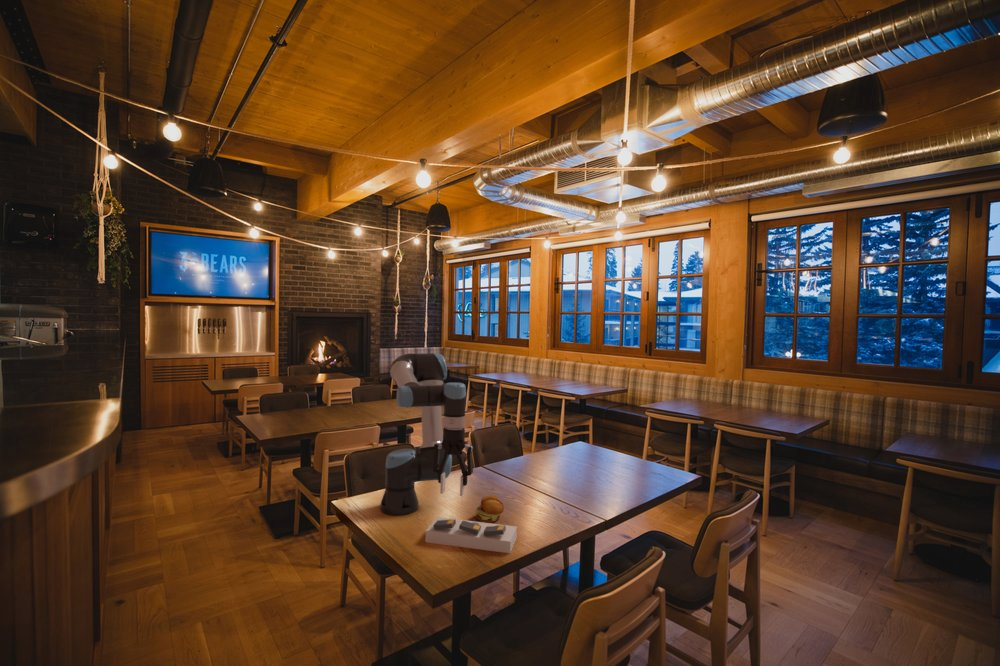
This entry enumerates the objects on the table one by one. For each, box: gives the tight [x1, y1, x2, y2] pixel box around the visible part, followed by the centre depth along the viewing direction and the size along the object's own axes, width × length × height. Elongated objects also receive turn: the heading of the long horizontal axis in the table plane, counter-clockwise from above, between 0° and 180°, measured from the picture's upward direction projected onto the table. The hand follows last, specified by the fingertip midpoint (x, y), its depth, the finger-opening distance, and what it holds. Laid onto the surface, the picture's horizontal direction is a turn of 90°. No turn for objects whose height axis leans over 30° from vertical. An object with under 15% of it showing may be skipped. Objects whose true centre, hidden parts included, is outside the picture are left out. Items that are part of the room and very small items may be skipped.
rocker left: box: [433, 520, 456, 529], centre depth 165 cm, size 7×4×2 cm, turn 78°
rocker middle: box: [459, 520, 481, 535], centre depth 163 cm, size 7×4×2 cm, turn 78°
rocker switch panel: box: [425, 516, 518, 554], centre depth 166 cm, size 30×12×4 cm, turn 78°
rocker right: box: [484, 526, 506, 536], centre depth 161 cm, size 7×4×2 cm, turn 78°
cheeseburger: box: [475, 494, 505, 523], centre depth 184 cm, size 10×11×10 cm
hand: (452, 493), depth 164 cm, fingers open, 6 cm apart
